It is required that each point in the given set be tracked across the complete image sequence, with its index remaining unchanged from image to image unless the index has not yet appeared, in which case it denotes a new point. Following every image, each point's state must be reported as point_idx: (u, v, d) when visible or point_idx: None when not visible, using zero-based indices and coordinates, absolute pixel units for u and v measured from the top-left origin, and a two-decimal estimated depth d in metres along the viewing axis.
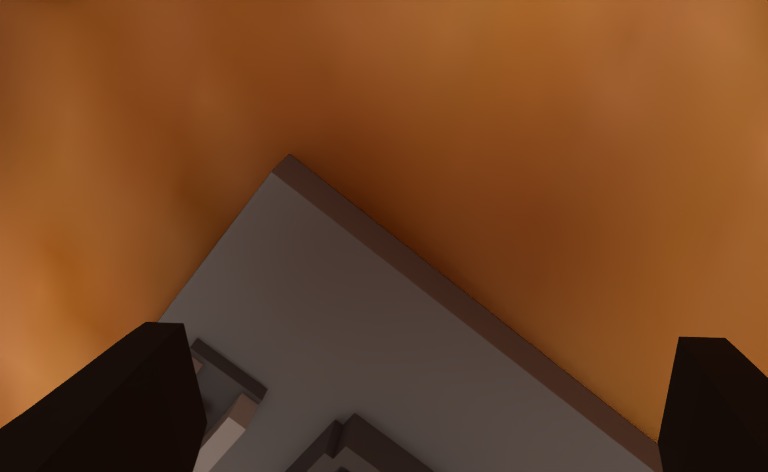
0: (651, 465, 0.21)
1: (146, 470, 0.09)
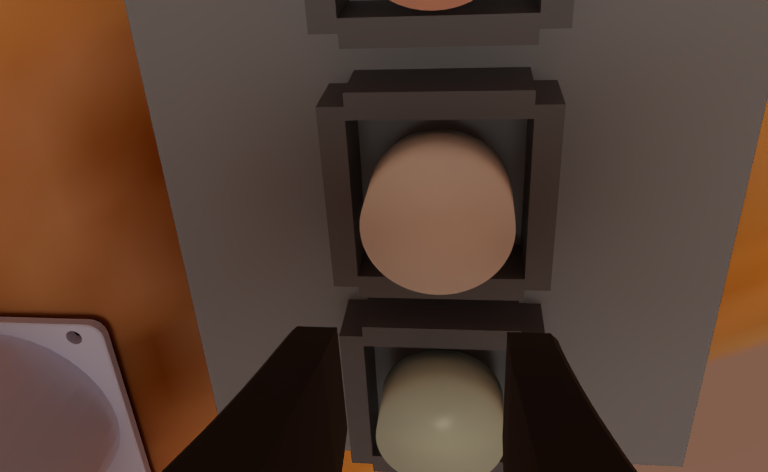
0: (749, 147, 0.16)
1: None
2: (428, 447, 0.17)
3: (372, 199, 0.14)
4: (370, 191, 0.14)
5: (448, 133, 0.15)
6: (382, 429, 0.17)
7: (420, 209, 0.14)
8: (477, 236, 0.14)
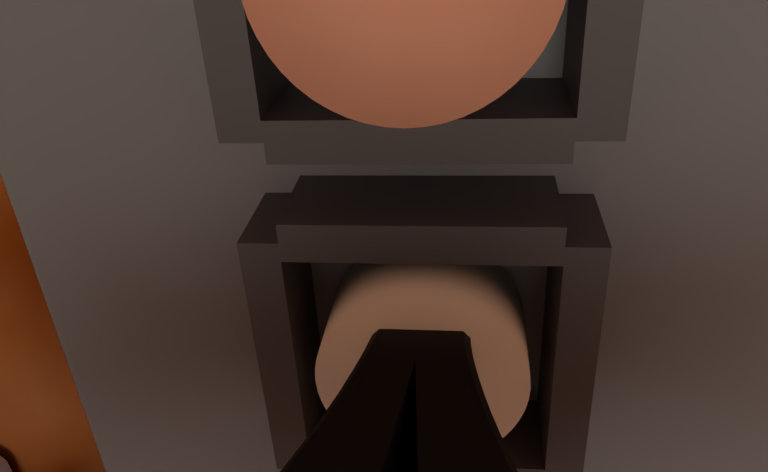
0: None
1: None
2: None
3: (331, 343, 0.10)
4: (328, 333, 0.10)
5: None
6: None
7: None
8: None
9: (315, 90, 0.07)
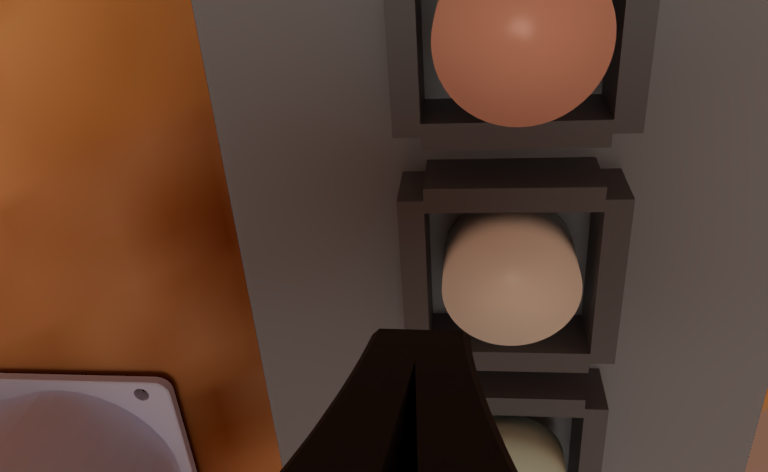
0: None
1: None
2: None
3: (454, 264, 0.16)
4: (452, 257, 0.16)
5: None
6: None
7: (497, 273, 0.16)
8: (547, 295, 0.16)
9: (469, 106, 0.13)
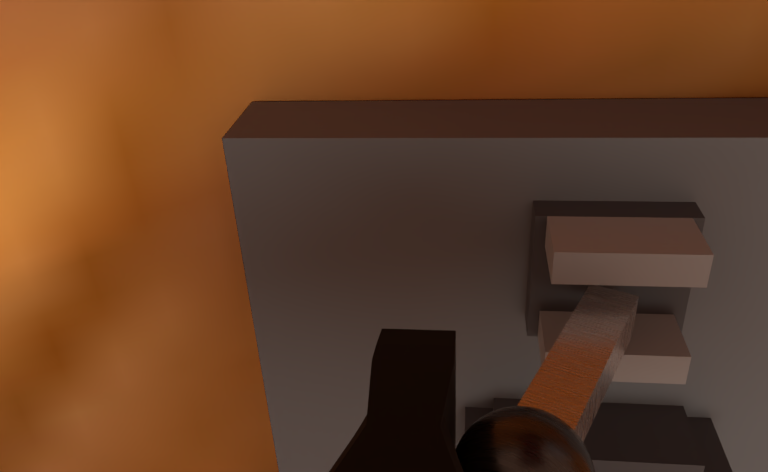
0: None
1: None
2: None
3: None
4: None
5: None
6: None
7: None
8: None
9: None
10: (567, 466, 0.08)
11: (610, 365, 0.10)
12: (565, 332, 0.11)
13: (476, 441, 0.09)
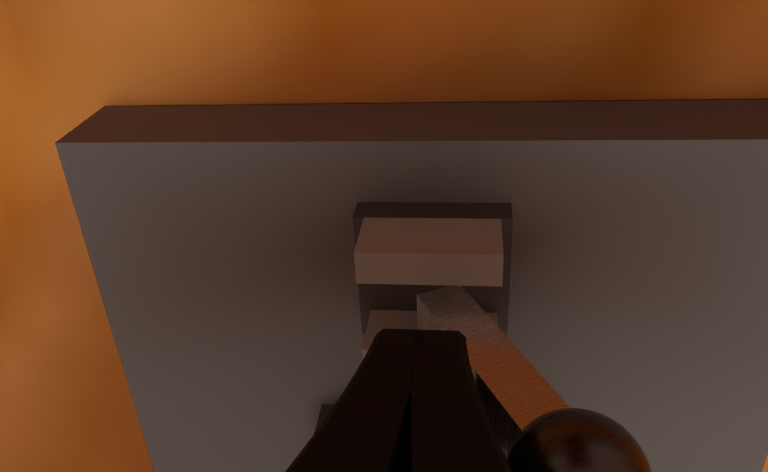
0: None
1: None
2: None
3: None
4: None
5: None
6: None
7: None
8: None
9: None
10: (629, 436, 0.08)
11: None
12: None
13: None
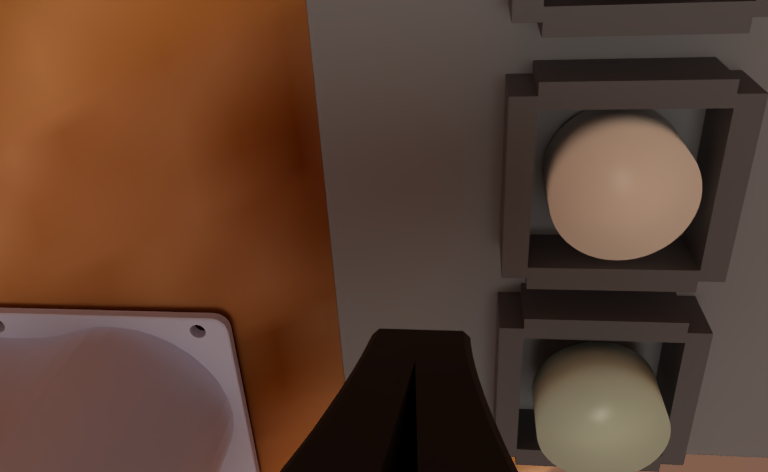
0: None
1: None
2: (589, 439, 0.17)
3: (565, 167, 0.15)
4: (564, 160, 0.15)
5: None
6: (545, 421, 0.17)
7: (611, 177, 0.15)
8: (663, 203, 0.15)
9: None
10: None
11: None
12: None
13: None
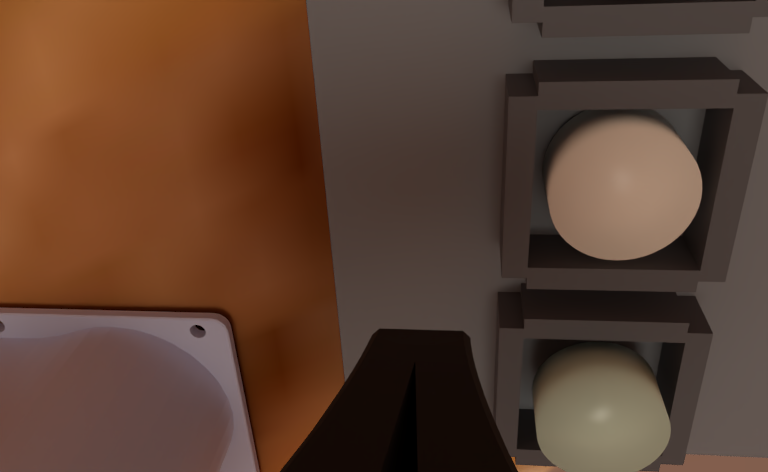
0: None
1: None
2: (589, 439, 0.17)
3: (565, 167, 0.15)
4: (564, 160, 0.15)
5: None
6: (545, 421, 0.17)
7: (611, 177, 0.15)
8: (663, 203, 0.15)
9: None
10: None
11: None
12: None
13: None
